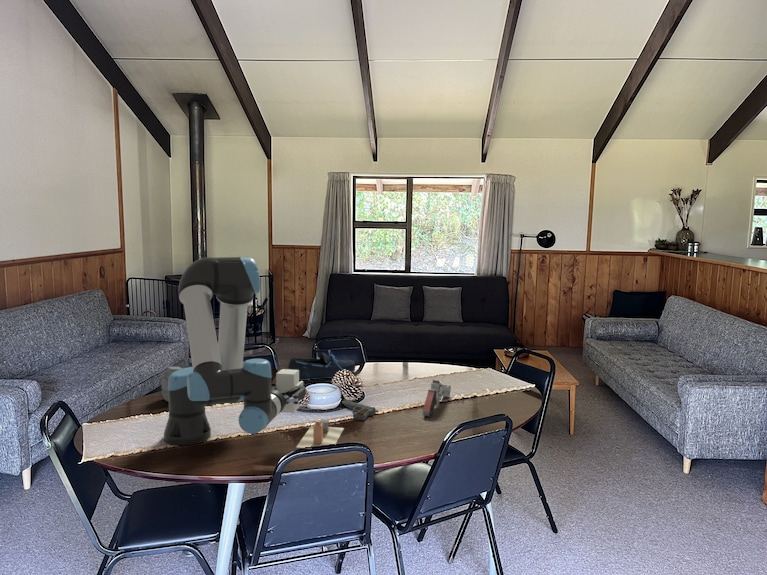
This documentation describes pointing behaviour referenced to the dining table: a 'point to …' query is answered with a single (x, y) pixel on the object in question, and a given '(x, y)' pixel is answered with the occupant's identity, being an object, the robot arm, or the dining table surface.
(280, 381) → the tall cream block
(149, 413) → the dining table surface
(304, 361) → the moccasin
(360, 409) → the handgun
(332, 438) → the board
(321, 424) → the post
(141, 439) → the dining table surface
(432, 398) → the revolver
